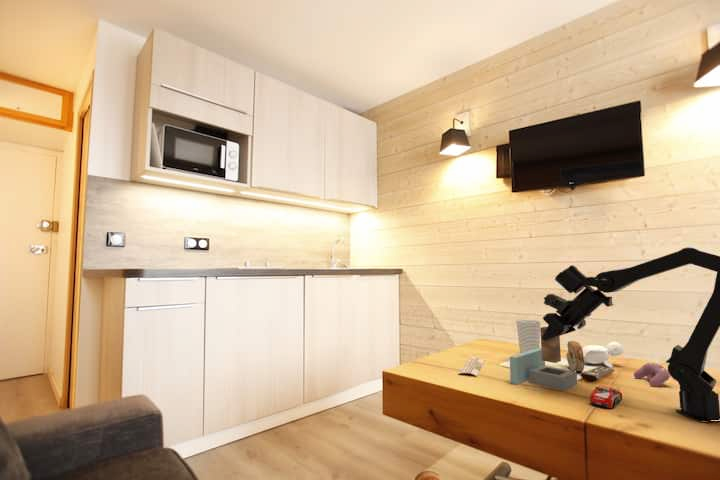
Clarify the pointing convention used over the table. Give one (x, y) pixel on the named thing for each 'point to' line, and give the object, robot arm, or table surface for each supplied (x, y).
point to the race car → (605, 397)
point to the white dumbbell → (601, 353)
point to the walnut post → (550, 348)
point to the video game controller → (653, 374)
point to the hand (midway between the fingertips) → (545, 338)
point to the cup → (528, 334)
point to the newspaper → (472, 366)
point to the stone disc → (575, 356)
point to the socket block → (553, 377)
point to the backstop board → (524, 365)
